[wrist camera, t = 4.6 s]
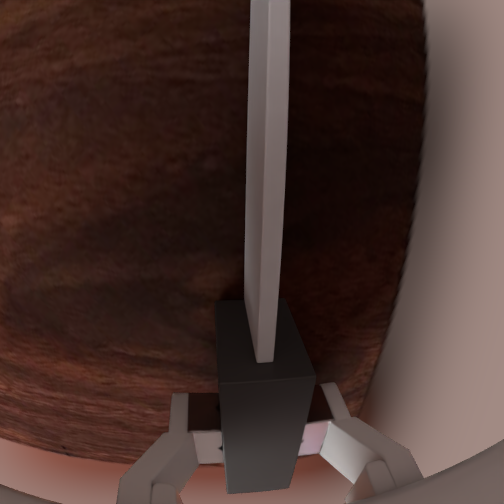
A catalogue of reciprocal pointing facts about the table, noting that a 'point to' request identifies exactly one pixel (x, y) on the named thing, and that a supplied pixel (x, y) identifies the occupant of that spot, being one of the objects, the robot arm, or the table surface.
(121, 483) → the robot arm
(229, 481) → the knife
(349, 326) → the table surface
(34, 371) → the table surface
